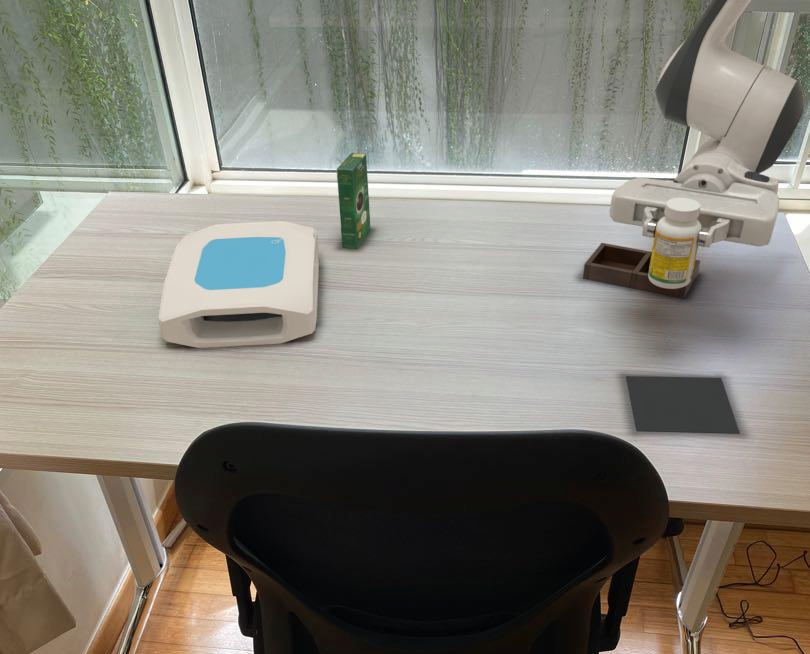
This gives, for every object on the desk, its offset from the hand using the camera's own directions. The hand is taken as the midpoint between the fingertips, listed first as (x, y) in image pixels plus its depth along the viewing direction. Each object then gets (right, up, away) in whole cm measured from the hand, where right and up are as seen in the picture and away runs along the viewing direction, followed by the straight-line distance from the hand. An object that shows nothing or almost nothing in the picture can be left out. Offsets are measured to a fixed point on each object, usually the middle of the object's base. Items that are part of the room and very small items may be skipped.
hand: (676, 235), depth 105 cm
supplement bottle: (+1, -4, +5) cm, 6 cm away
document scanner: (-56, -1, +27) cm, 62 cm away
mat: (+1, -20, +3) cm, 20 cm away
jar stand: (+3, +3, +28) cm, 28 cm away
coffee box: (-41, +13, +41) cm, 59 cm away
